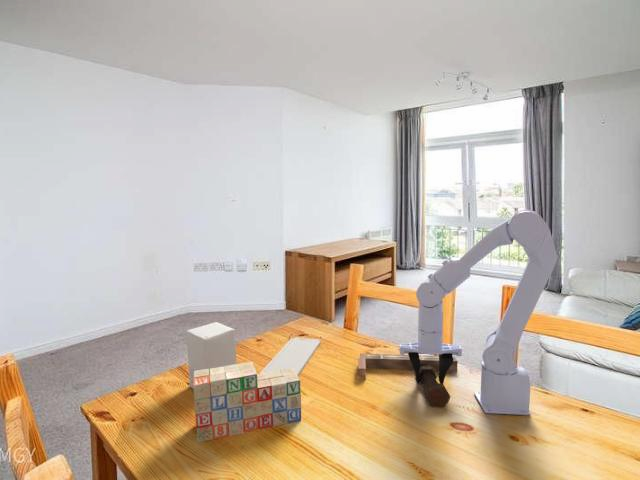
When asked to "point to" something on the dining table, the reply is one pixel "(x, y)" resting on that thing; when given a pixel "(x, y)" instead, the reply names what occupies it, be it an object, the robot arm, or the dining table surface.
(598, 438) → the dining table surface
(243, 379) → the stack of blocks
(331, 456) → the dining table surface
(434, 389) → the bolt
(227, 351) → the supplement box
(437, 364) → the walnut fence
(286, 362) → the baseboard molding
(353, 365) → the dining table surface
